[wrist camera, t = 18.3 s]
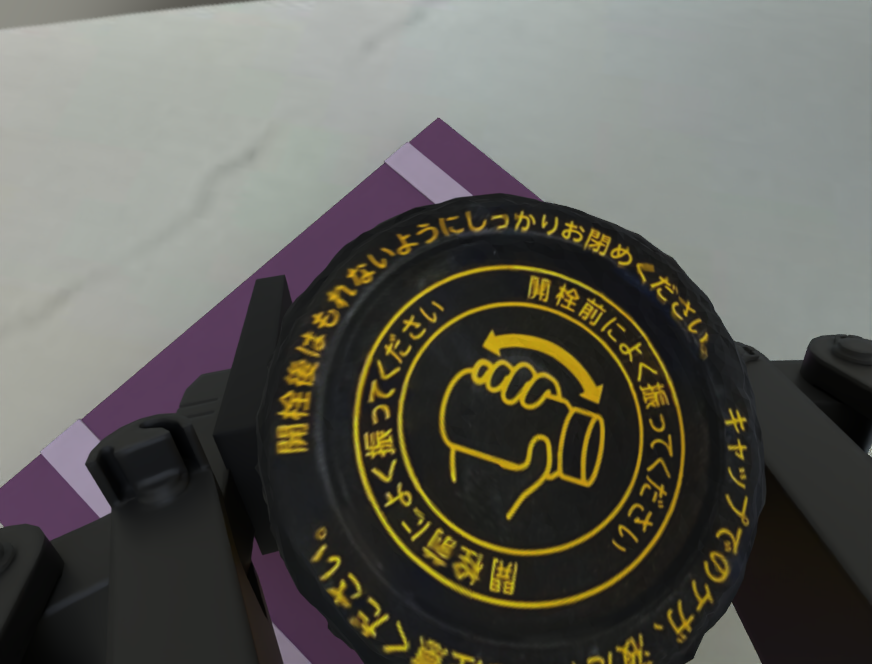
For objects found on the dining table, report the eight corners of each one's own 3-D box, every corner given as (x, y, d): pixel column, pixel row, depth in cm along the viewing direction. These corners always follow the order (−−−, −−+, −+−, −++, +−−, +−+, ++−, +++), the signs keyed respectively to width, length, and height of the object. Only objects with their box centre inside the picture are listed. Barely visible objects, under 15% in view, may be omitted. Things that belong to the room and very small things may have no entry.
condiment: (355, 608, 14) (242, 1111, 3) (283, 353, 16) (57, 63, 5) (564, 518, 16) (1042, 617, 4) (474, 295, 18) (634, -31, 6)
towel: (437, 126, 21) (438, 115, 20) (754, 381, 19) (767, 378, 18) (-3, 501, 15) (-22, 502, 14) (390, 947, 12) (391, 973, 12)
